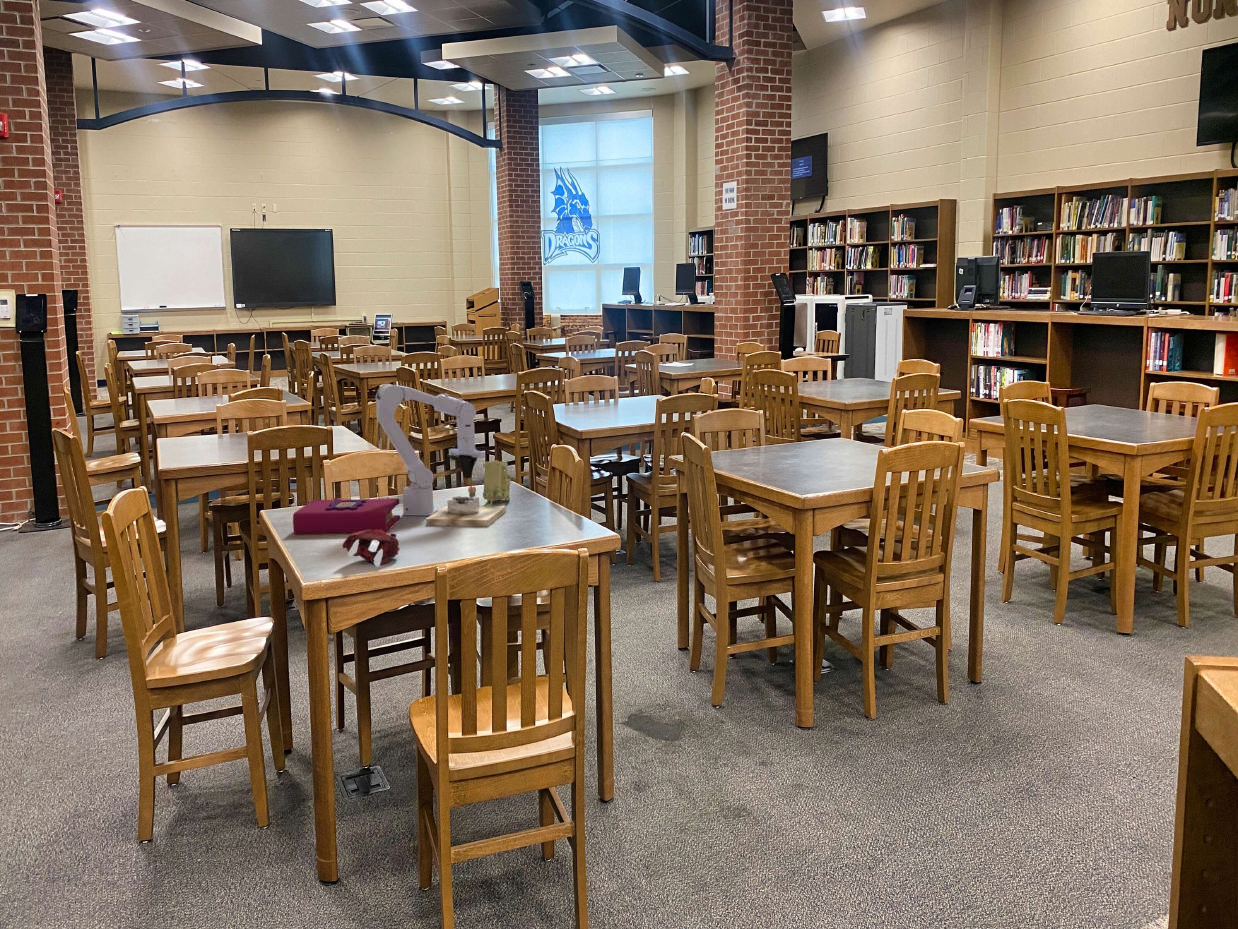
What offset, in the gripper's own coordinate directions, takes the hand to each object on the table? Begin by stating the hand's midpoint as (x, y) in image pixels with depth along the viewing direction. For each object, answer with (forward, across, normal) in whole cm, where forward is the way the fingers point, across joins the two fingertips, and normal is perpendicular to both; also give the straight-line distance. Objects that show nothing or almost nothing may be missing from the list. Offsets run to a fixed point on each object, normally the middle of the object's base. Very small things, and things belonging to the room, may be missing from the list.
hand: (467, 477), depth 325 cm
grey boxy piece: (+8, -8, +9) cm, 15 cm away
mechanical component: (+11, -2, -13) cm, 17 cm away
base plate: (+10, -10, +12) cm, 19 cm away
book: (+11, +14, +39) cm, 43 cm away
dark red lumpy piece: (+11, -24, +64) cm, 69 cm away
